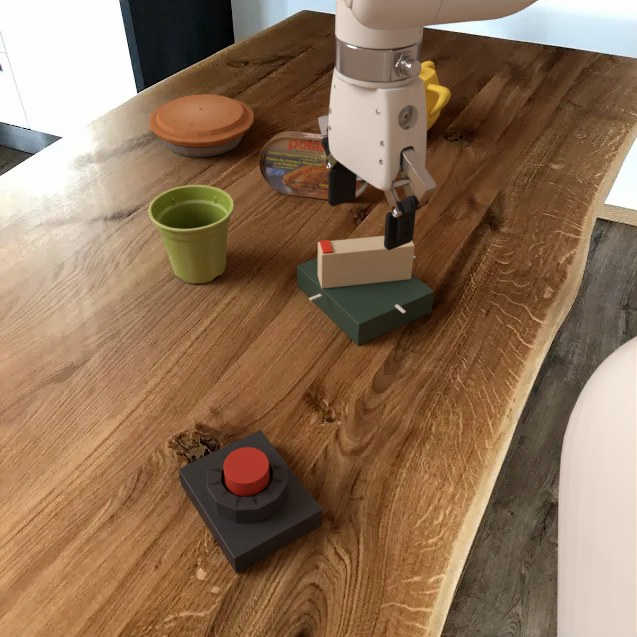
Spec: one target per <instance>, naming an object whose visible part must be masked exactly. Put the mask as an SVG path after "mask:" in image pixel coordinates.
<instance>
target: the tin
mask: <svg viewBox="0 0 637 637" xmlns="http://www.w3.org/2000/svg"><path fill="white" fill-rule="evenodd" d="M322 138H323V136H322V135H321V133H313V132H304V131H294V130H286V131H282V132H279V133H277V134H276V135H273V136H272V137H271V138H270V139H269V141H268V142H266V143H265V145H264V146H263V147H262V148H261V151H260V153H259V157H258V165H259V166H258V167H259V171H260V174H261V176H262V179H263V180H264V181H265V182H266V184H267V185H268V186H269V187H270V188H271V189H273V190H274V191H275V192H278V193H280V194H283V195H286V196H292V197H302V198H310V199H319V200H326V201H328V171H331V170H329V169H328V168H327V167H326V164H325V160H326V158H327V155H326V153H325V151H324V148H323V146H322ZM369 185H370V183H368V182H367V181H365V180H364V179H362V178H361V177H359V176H358V175H356V197H355V199H357V198H358V197H360V196H361V195H363V193H365V191H366V190H367V188H368V186H369Z"/></svg>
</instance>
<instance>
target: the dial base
mask: <svg viewBox="0 0 637 637" xmlns="http://www.w3.org/2000/svg"><path fill="white" fill-rule="evenodd" d="M414 259H416V255H414V257H413V260H414ZM296 278H297V279H296V285H297V287H298V288H299V289H300V290H301V291H302V292H303V293H304V294H305V296H307V298H308V300H309V301H310V302H313V303H314V304H315V305H316V306H317V307H318V308H319V309H320V310H321V311H322V312H323V313H324V314H325V315H326V316H327V317H328V318H329V319H330V320H331V321H332V322H333V323H334V324H335V325H336V326H337V327H338V328H339V329H340V330H341V331H342V332H343V333H344V334H346V336H347V337H348V338H349V339H351V341H353V342H354V344H356V346H360V345H362V344H365V343H367V342H369V341H371V340H374V339H376V338H378V337H380V336H382V335H385V334H387V333H389V332H391V331H393V330H396V329H397V328H398V329H399V328H400V327H402V326H405V325H407V324H408V323H411V322H413V321H416V320H418V319H420V318H423V317H424V316H427V315H429V314H431V313H432V310H433V304H434V297H435V291H434V290H433V289H432V288H431V287H430V286H428V285H427V284H426V283H425V282H423V281H422V280H421V279H420V278H419V277H417V276H416V275H415V274H414V273H412V275H411V279H408V280H399V281H389V282H380V283H370V284H361V285H351V286H342V287H332V288H323V289H322V288H321V285H320V282H319V278H318V257H315V258H313V259H310V260H307V261H305V262H302V263H299V264H297V265H296Z"/></svg>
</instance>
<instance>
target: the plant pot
mask: <svg viewBox="0 0 637 637" xmlns="http://www.w3.org/2000/svg"><path fill="white" fill-rule="evenodd" d="M234 209H235V203H234V199H233V198H232V196H231V195H230V194H229V193H228V192H226V191H225V190H223V189H221V188H218V187H216V186H210V185H205V184H187V185H181V186H177V187H173V188H170V189H167V190H166V191H164V192H162V193H160V194H158V195H157V196H156V197H154V198H153V200H151V202H150V203H149V206H148V210H147V212H148V216H149V219H150V220H151V222H152V223H153V225H155V227H156V229H157V231H158V232H159V233H160V236H161V239H162V242H163V244H164V248H165V250H166V253H167V256H168V259H169V261H170V266H171V268H172V272H173V274H174V275H175V277H177V278H179V279H180V280H182V281H183V282H184V283H188V284H194V285H195V284H196V285H198V284H206V283H210V282H212V281H213V280H214V279H215V278H217V277H219V276H222V275H223V274H224V272H225V270H226V268H227V246H228V230H229V229H228V228H229V224H230V222H231V216H232V215H233V213H234Z"/></svg>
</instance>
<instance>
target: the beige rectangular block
mask: <svg viewBox="0 0 637 637" xmlns="http://www.w3.org/2000/svg"><path fill="white" fill-rule="evenodd" d="M415 248H416V247H415V244H414V242H413V240H412V241H411V242H410V243H407V244H404V245H402V246H399V247H397V248H394V249H392V250H388V249H386V248H385V247H384V235H379V236H378V235H377V236H368V237H367V236H366V237H356V238H348V239H347V238H346V239H336V240H330V239H324V240H319V241H318V242H317V258H318V278H319V282H320V285H321V288H322V289H323V288H332V287H342V286H351V285H361V284H370V283H380V282H389V281H399V280H408V279H411V275H412V274H413V266H414V259H413V257H414V256H415Z"/></svg>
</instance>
